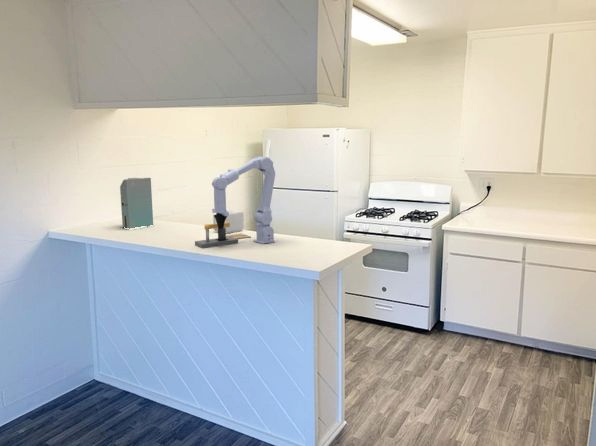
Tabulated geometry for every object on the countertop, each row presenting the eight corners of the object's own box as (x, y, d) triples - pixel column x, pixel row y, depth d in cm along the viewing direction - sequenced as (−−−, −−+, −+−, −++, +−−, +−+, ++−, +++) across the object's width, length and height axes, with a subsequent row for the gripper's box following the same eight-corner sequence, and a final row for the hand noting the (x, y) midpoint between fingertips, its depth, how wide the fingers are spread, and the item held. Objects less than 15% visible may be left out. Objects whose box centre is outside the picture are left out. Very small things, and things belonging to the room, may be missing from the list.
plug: (227, 243, 252) (227, 228, 251) (220, 244, 250) (219, 229, 248) (223, 242, 255) (223, 227, 254) (216, 243, 253) (216, 228, 252)
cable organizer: (225, 234, 276) (225, 214, 274) (212, 232, 283) (212, 212, 281) (244, 230, 288) (243, 211, 286) (231, 228, 294) (230, 209, 292)
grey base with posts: (238, 243, 253) (237, 227, 251) (202, 248, 242) (201, 231, 240) (230, 240, 260) (229, 225, 259) (195, 245, 249) (194, 229, 247)
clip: (205, 229, 245) (205, 225, 245) (203, 228, 247) (203, 224, 247) (230, 226, 252) (229, 223, 252) (227, 226, 254) (227, 222, 254)
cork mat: (250, 237, 267) (250, 236, 267) (232, 240, 261) (232, 238, 261) (241, 234, 276) (241, 233, 276) (223, 236, 270) (223, 235, 270)
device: (146, 225, 308) (143, 177, 303) (153, 226, 303) (150, 177, 298) (122, 228, 295) (119, 178, 290) (129, 230, 290) (126, 179, 285)
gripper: (206, 200, 246) (207, 227, 249) (219, 203, 235) (220, 231, 237) (219, 199, 250) (219, 225, 253) (232, 202, 239) (233, 230, 241)
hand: (220, 228), depth 245 cm, fingers closed
